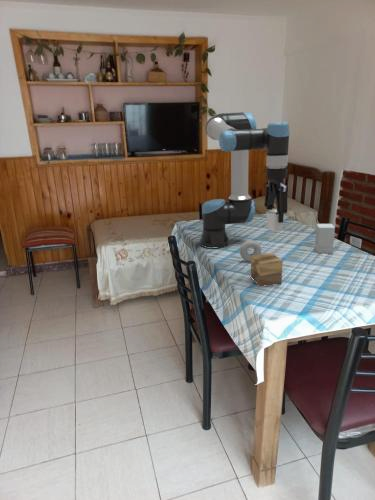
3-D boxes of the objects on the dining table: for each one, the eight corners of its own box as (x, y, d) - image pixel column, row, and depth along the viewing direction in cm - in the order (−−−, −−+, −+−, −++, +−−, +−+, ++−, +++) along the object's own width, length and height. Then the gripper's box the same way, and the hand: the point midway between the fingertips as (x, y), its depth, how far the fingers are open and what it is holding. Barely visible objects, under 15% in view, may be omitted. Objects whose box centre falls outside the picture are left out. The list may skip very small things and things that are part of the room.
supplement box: (332, 253, 165) (335, 227, 161) (316, 253, 166) (318, 227, 162) (330, 248, 172) (332, 223, 167) (314, 247, 173) (316, 223, 169)
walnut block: (251, 278, 143) (251, 267, 141) (271, 275, 145) (271, 264, 143) (259, 287, 135) (259, 275, 133) (281, 284, 136) (281, 272, 135)
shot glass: (263, 227, 138) (263, 209, 136) (280, 225, 138) (280, 208, 136) (268, 231, 131) (269, 213, 129) (286, 230, 132) (287, 212, 130)
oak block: (250, 267, 141) (250, 255, 140) (270, 264, 143) (271, 252, 142) (260, 275, 133) (261, 263, 131) (282, 272, 135) (282, 260, 133)
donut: (260, 259, 162) (260, 238, 159) (262, 261, 159) (262, 240, 156) (238, 260, 162) (239, 239, 159) (240, 263, 159) (240, 242, 155)
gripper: (300, 169, 119) (296, 233, 126) (274, 164, 137) (272, 221, 145) (280, 170, 117) (277, 236, 125) (256, 165, 136) (255, 222, 143)
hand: (274, 227), depth 135 cm, fingers closed on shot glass, 7 cm apart
